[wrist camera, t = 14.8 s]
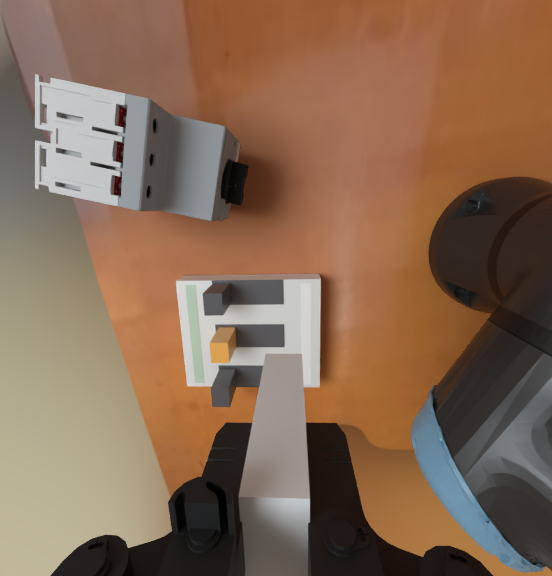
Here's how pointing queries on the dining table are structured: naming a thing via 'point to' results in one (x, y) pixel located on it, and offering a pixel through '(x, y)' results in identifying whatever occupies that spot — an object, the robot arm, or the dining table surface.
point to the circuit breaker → (134, 153)
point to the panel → (252, 324)
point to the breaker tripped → (223, 345)
